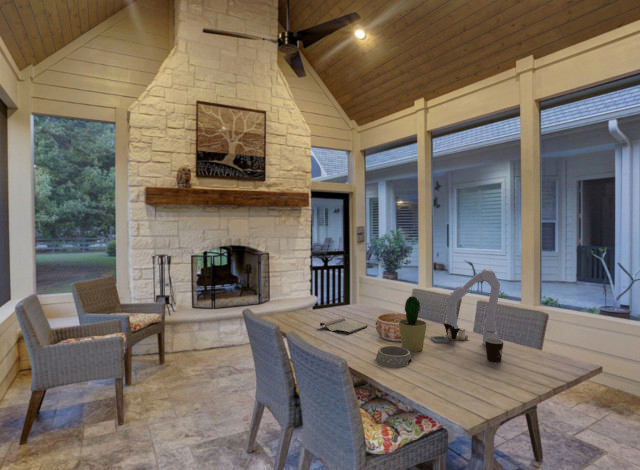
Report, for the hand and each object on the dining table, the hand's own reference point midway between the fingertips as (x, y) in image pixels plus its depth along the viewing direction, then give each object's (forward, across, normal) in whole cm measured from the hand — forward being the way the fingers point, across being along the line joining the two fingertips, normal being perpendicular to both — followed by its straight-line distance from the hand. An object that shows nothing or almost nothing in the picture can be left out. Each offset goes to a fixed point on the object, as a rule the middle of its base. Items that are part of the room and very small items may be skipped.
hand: (451, 337), depth 227 cm
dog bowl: (+3, +31, -42) cm, 53 cm away
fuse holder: (+2, 0, +3) cm, 4 cm away
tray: (+2, +2, -8) cm, 9 cm away
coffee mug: (+2, +33, +10) cm, 35 cm away
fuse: (+1, 0, +6) cm, 7 cm away
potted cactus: (+2, +13, -28) cm, 30 cm away
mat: (+3, -30, -62) cm, 68 cm away
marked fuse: (+1, 0, 0) cm, 1 cm away
